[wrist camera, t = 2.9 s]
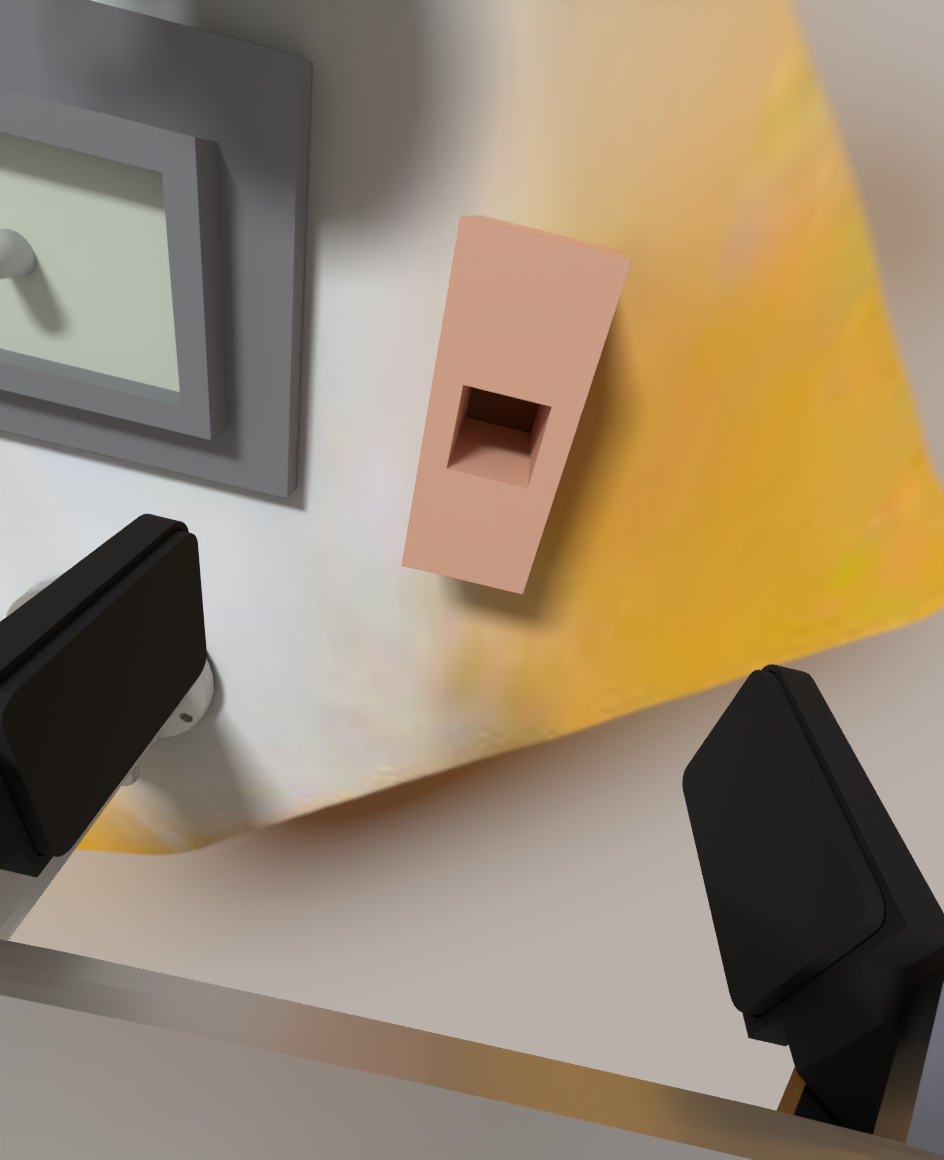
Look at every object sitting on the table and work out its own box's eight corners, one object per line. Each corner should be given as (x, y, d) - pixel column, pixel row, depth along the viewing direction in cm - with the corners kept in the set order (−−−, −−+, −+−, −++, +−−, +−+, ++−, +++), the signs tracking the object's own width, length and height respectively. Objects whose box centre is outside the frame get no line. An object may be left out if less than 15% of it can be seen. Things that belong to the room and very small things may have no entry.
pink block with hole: (526, 525, 28) (522, 594, 23) (427, 501, 27) (401, 565, 22) (610, 248, 21) (631, 260, 16) (480, 215, 21) (460, 217, 16)
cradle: (296, 488, 28) (267, 520, 25) (-150, 381, 27) (-233, 401, 24) (312, 64, 19) (270, 36, 16) (-350, -111, 18) (-518, -171, 15)
